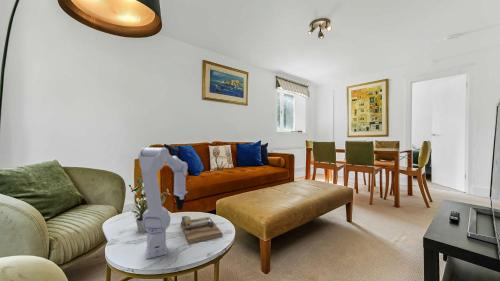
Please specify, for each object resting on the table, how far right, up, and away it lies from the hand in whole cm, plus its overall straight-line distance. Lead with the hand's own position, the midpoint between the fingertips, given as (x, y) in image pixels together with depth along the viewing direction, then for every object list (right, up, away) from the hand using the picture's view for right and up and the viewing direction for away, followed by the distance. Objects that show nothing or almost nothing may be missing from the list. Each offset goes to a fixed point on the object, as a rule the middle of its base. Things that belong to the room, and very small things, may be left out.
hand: (179, 209), depth 107 cm
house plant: (-17, -10, -4) cm, 20 cm away
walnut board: (+12, -10, -3) cm, 16 cm away
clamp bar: (+11, -7, -3) cm, 13 cm away
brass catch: (+6, -5, -5) cm, 9 cm away
